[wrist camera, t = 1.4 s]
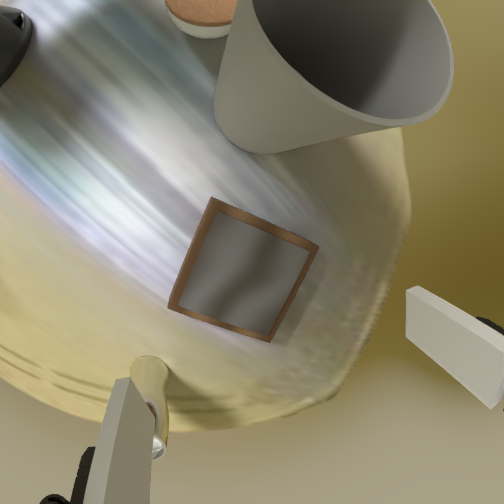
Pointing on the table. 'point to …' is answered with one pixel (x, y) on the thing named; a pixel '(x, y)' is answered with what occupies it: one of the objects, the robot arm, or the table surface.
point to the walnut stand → (241, 272)
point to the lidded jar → (202, 16)
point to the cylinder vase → (329, 70)
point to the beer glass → (153, 397)
